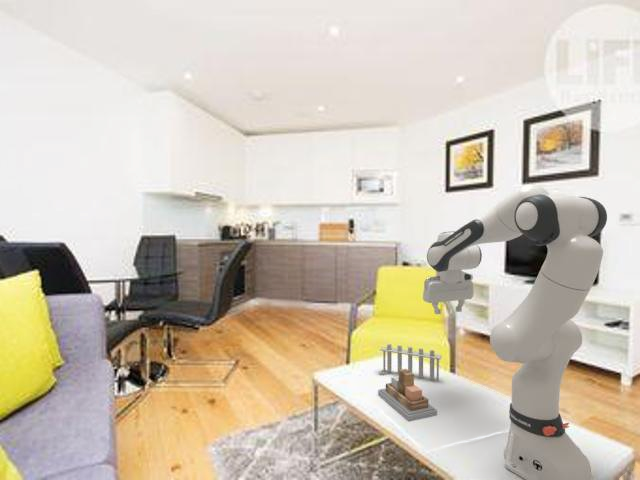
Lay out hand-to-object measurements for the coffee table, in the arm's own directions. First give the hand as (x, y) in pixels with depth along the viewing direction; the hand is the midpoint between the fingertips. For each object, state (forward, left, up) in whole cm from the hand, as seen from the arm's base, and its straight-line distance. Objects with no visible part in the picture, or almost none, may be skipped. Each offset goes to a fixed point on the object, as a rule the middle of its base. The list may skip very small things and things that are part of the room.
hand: (448, 312), depth 139 cm
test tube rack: (+18, +4, -32) cm, 37 cm away
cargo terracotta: (-7, +19, -27) cm, 34 cm away
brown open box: (-2, +19, -28) cm, 34 cm away
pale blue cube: (+2, +19, -27) cm, 33 cm away
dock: (-2, +19, -31) cm, 37 cm away
